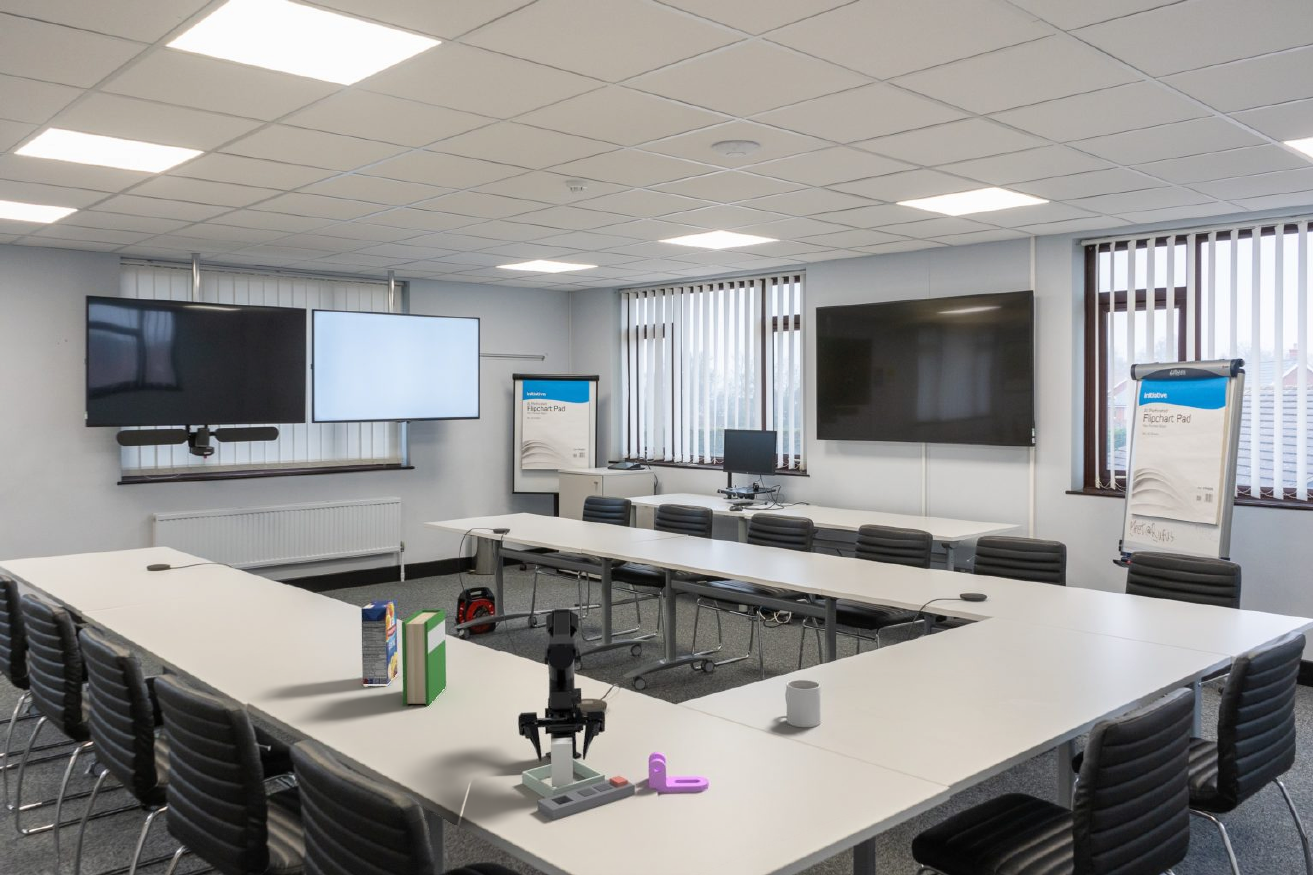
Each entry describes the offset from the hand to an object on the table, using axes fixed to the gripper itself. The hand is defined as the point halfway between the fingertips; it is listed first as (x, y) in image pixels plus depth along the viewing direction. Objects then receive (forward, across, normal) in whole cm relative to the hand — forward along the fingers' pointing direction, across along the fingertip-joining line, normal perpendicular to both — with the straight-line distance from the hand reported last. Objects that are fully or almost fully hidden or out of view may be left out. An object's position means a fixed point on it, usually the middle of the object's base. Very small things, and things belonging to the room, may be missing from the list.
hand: (562, 759), depth 195 cm
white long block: (+4, 0, +6) cm, 8 cm away
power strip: (+10, +5, +2) cm, 11 cm away
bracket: (+4, +25, +8) cm, 27 cm away
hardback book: (-49, -41, +61) cm, 88 cm away
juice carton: (-63, -57, +75) cm, 113 cm away
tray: (+3, 0, +9) cm, 9 cm away
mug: (-24, +63, +36) cm, 76 cm away
